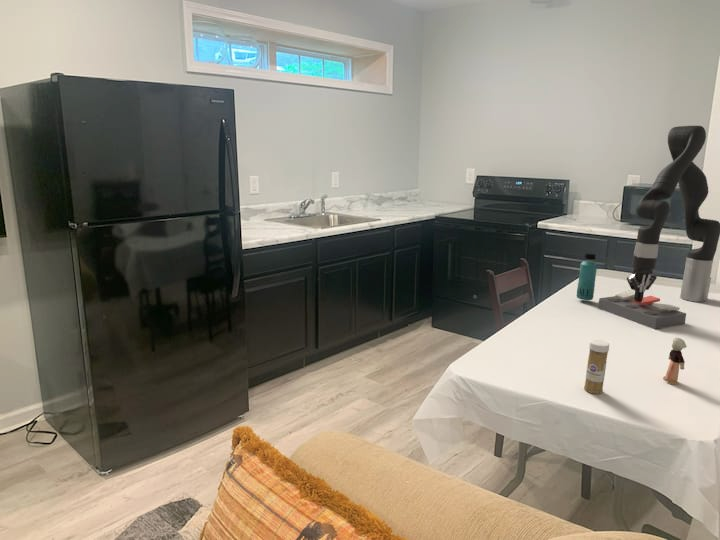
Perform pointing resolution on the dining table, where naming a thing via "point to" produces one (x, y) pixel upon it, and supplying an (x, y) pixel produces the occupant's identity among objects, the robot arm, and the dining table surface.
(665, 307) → the grey rocker far end
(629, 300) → the power strip
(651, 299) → the block
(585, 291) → the beverage bottle
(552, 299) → the dining table surface
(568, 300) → the dining table surface
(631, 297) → the grey rocker near bottle
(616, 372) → the dining table surface
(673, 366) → the grandmother figurine
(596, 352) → the sprinkles bottle
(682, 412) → the dining table surface
